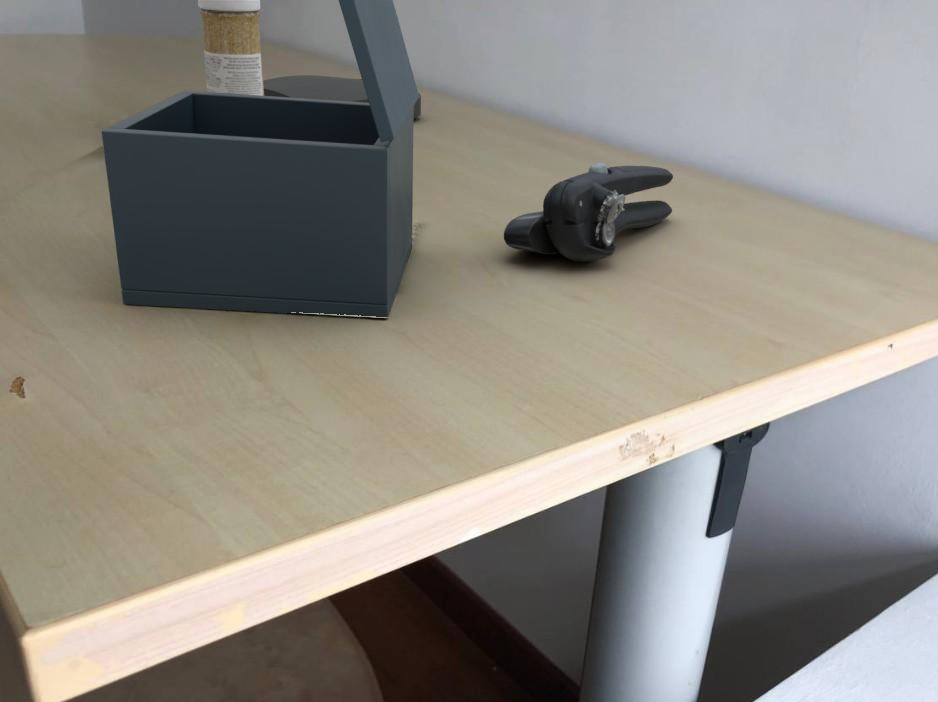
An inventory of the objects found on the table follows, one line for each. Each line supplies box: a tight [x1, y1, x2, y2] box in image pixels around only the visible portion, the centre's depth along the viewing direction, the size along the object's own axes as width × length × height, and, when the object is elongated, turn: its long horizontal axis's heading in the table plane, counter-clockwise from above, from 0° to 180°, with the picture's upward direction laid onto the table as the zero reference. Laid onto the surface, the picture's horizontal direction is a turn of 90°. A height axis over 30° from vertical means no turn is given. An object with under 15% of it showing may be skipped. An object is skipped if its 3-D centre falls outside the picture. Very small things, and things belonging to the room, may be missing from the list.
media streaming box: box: [263, 74, 422, 119], centre depth 101 cm, size 15×15×3 cm
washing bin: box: [101, 89, 415, 318], centre depth 55 cm, size 14×13×9 cm
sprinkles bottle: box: [197, 0, 264, 96], centre depth 78 cm, size 5×5×14 cm
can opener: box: [503, 162, 674, 263], centre depth 66 cm, size 18×7×6 cm, turn 147°
